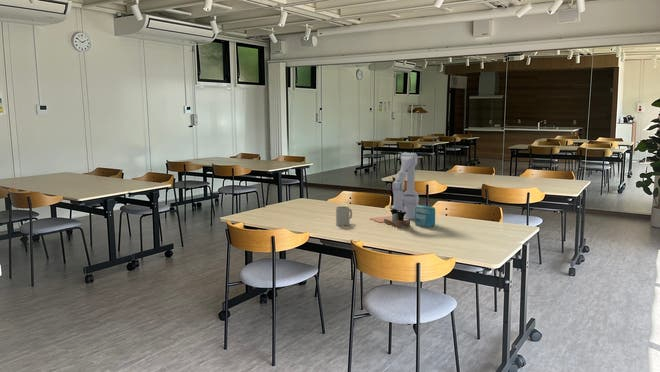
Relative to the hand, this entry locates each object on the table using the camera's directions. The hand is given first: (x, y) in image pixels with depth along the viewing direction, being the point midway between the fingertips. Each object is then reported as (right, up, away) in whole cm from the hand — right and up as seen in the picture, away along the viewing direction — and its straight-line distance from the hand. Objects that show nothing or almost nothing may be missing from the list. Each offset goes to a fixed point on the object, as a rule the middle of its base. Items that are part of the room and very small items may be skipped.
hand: (398, 221), depth 327 cm
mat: (-6, 0, +16) cm, 17 cm away
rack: (-1, -2, +2) cm, 3 cm away
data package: (+16, -3, -3) cm, 17 cm away
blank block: (0, -2, 0) cm, 2 cm away
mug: (-33, -2, +5) cm, 34 cm away
